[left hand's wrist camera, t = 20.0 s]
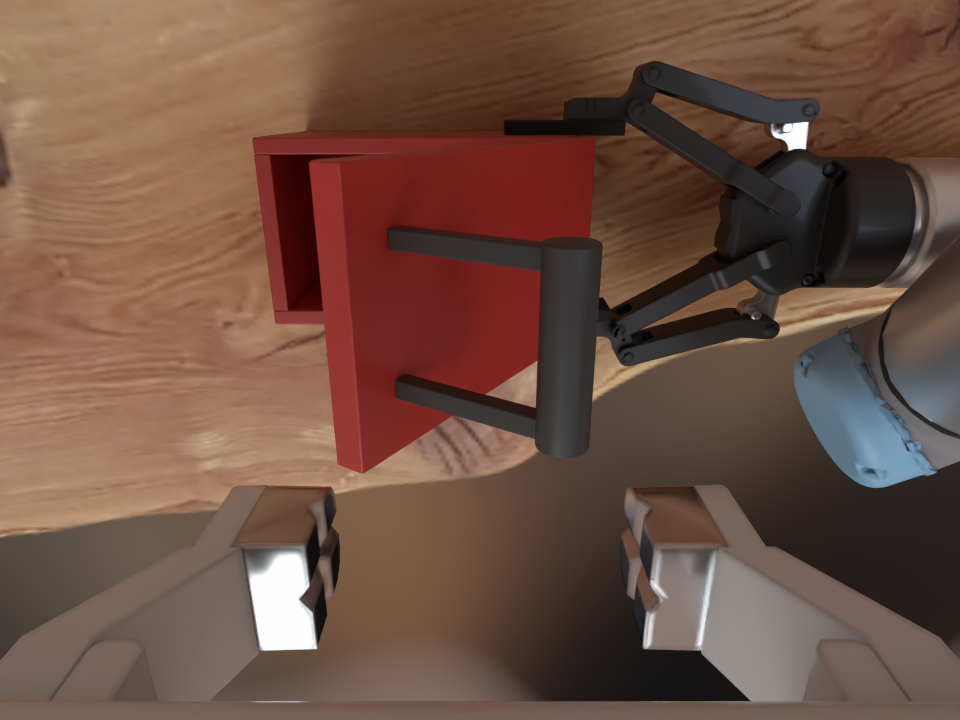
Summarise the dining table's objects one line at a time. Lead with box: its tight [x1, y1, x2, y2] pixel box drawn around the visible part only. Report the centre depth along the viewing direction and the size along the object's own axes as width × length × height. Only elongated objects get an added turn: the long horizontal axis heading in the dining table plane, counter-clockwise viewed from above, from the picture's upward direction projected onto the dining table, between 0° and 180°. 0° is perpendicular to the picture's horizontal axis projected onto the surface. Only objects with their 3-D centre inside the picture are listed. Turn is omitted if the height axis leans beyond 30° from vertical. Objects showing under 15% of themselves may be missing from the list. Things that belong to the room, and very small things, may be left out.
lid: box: [309, 137, 603, 473], centre depth 25 cm, size 18×10×8 cm
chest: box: [253, 131, 583, 324], centre depth 39 cm, size 17×10×10 cm, turn 90°
